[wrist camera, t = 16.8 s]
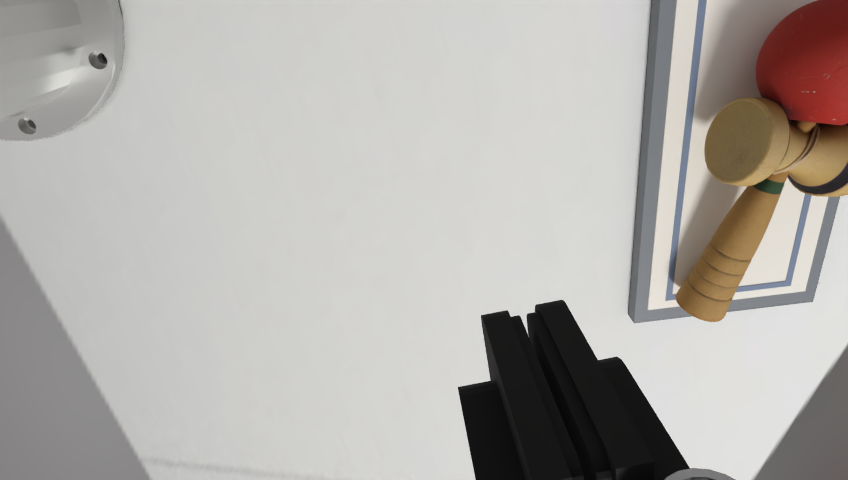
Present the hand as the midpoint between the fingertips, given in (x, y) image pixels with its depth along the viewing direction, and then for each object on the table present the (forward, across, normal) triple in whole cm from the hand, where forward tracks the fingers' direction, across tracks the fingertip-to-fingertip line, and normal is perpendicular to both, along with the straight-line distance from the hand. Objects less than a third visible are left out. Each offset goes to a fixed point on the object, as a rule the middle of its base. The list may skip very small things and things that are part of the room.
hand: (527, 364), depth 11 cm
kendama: (+20, -17, +6) cm, 27 cm away
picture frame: (+21, -18, +6) cm, 28 cm away
